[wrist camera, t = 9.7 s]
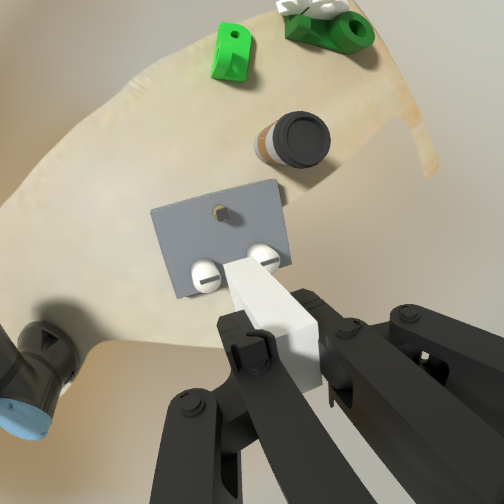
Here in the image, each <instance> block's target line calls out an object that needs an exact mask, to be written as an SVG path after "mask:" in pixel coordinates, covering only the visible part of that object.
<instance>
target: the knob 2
mask: <svg viewBox="0 0 504 504" xmlns="http://www.w3.org/2000/svg"><path fill="white" fill-rule="evenodd" d="M246 256H247V257H251V256H253V257H254V258H255V259H256V260H257V261H258V262H259V263H260V264H261V265H262V266H263V267H264V268H265V269H266V270H267V271H268V272H269V273H270V274H272V273H274V272H275V271H276V270H277V269H278V267H279V265H280V257H279V255H278V253H277V252H276V251H274V250H273V249H272V248H271V247H269V246H268V245H267V244H265V243H263V242H256V243H253V244H252V245H251V246H250V247H249V248H248V250H247V254H246Z"/></svg>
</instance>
